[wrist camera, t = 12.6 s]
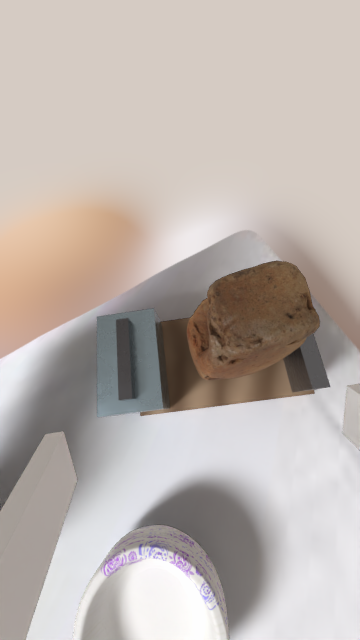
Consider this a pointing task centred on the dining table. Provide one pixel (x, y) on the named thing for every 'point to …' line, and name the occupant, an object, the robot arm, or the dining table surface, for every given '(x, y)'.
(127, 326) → the block
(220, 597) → the white floral bowl
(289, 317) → the block
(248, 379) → the vise base
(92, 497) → the dining table surface
